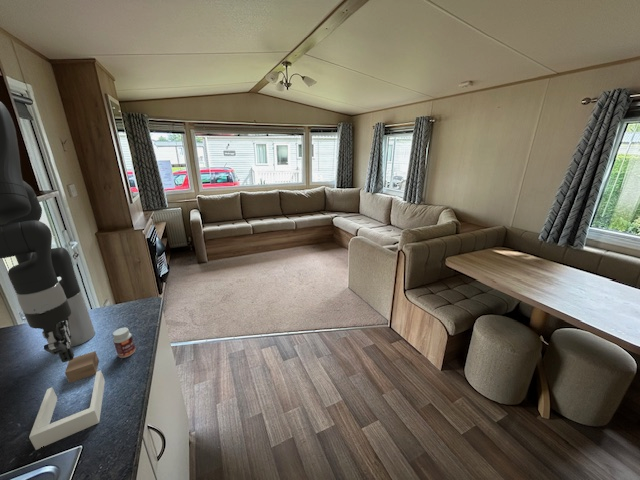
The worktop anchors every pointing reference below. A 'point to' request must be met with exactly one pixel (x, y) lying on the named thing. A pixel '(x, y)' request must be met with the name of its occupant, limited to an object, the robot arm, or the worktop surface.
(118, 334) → the pill bottle
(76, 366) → the walnut block
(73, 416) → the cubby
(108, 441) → the worktop surface
